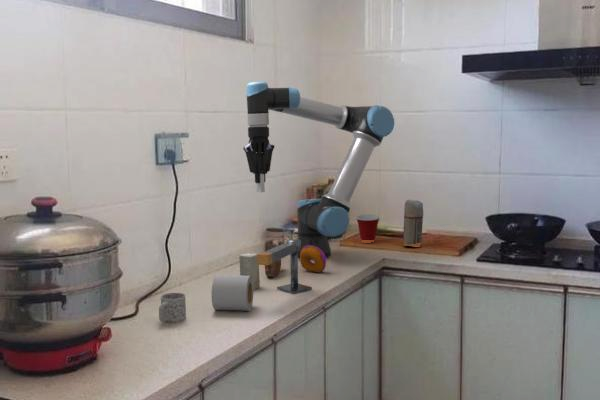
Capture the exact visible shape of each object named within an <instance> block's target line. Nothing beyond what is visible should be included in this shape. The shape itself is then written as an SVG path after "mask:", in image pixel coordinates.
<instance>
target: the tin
mask: <svg viewBox="0 0 600 400" xmlns="http://www.w3.org/2000/svg"><path fill="white" fill-rule="evenodd" d="M281 267H282V258H281V259H279V260H277V261H275V262H273V263H272V264H270V265H264V273H265V276H266V277H267V278H275V277H277V275H278V274H279V273H280V272H281V269H282V268H281Z"/></svg>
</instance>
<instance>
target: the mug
mask: <svg viewBox="0 0 600 400" xmlns="http://www.w3.org/2000/svg"><path fill="white" fill-rule="evenodd" d="M158 319H159V322H161V323H166V324H175V323H180V322H184V321H185V320H187V307H186V294H185V293H182V292H168V293H164V294H162V295H161V296H160V305H159V307H158Z"/></svg>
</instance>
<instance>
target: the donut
mask: <svg viewBox="0 0 600 400" xmlns="http://www.w3.org/2000/svg"><path fill="white" fill-rule="evenodd" d="M310 258H311V259H310ZM299 261H300V265H301V268H303V269H304V270H305V271H308V272H312V273H322V272H323V271H324V270H325V269H326V266H327V258H326V256H325V254H324V253H323V251H322V250H321V249H319V248H318V247H316V246H313V245H307V246H304V247H303V248H302V249H301V253H300V258H299ZM312 261H313V262H312Z"/></svg>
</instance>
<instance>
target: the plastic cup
mask: <svg viewBox="0 0 600 400" xmlns="http://www.w3.org/2000/svg"><path fill="white" fill-rule="evenodd" d="M355 219H356V221H357V224H358V233H359V235H360V236H359V237H360V240H361V239H362V240H374V239H375V240H376V236H377V230H378V224H379V222H380V219H381V216H380V215H379V214H376V213H375V214H373V213H365V214H364V213H363V214H358V215H356V216H355Z"/></svg>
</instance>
